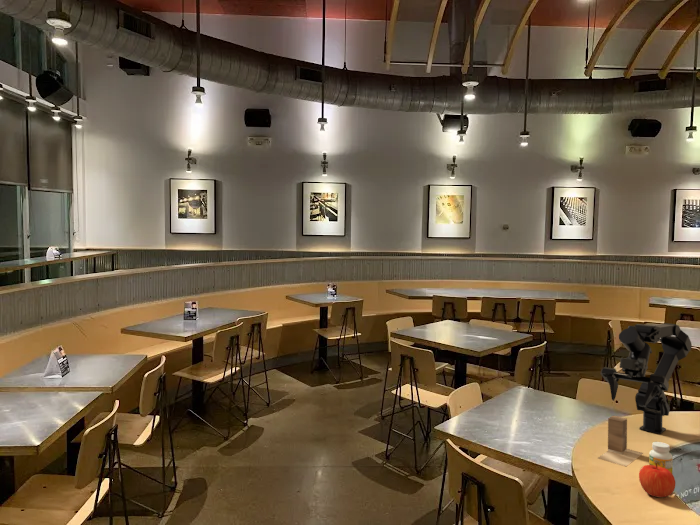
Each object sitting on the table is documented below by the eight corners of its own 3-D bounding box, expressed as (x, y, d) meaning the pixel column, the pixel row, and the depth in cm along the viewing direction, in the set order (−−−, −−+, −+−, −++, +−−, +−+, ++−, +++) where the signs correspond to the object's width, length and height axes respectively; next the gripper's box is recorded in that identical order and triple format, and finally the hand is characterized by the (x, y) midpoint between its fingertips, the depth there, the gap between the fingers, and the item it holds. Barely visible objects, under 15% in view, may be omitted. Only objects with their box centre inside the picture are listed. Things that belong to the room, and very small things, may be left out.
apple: (637, 496, 130) (637, 465, 129) (640, 484, 136) (640, 454, 136) (674, 505, 125) (675, 473, 125) (675, 492, 132) (676, 461, 131)
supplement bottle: (677, 482, 137) (677, 447, 137) (661, 485, 136) (662, 449, 135) (659, 474, 142) (660, 439, 142) (644, 476, 141) (644, 442, 140)
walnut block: (612, 447, 160) (613, 415, 160) (626, 450, 157) (627, 418, 157) (607, 450, 157) (608, 418, 157) (621, 454, 155) (622, 421, 154)
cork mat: (615, 446, 162) (615, 445, 162) (643, 454, 156) (643, 452, 156) (597, 459, 152) (597, 458, 152) (626, 467, 146) (626, 466, 146)
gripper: (600, 343, 171) (589, 386, 165) (664, 350, 157) (654, 397, 151) (611, 359, 177) (600, 401, 171) (673, 367, 163) (664, 413, 157)
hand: (628, 403), depth 162 cm, fingers open, 9 cm apart
